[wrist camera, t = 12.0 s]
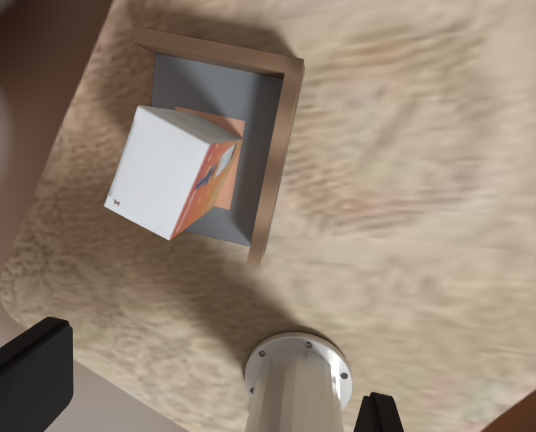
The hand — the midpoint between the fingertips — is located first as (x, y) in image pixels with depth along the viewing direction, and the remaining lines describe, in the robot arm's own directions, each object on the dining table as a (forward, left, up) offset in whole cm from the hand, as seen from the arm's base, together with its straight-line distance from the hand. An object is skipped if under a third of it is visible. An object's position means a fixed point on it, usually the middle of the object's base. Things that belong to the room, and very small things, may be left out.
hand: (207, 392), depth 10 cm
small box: (+3, +9, -23) cm, 25 cm away
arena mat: (+4, +8, -24) cm, 25 cm away
